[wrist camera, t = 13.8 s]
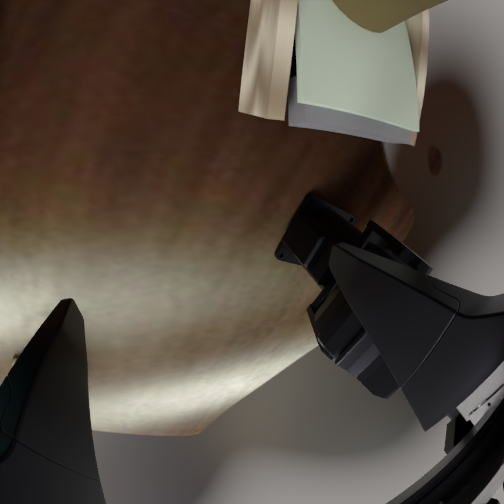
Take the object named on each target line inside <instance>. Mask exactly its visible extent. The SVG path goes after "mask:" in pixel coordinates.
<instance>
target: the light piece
mask: <svg viewBox="0 0 504 504" xmlns="http://www.w3.org/2000/svg"><path fill="white" fill-rule="evenodd" d="M295 43H296V66H297V75H296V76H294V77H292V78H290V79H289V85H288V101H289V126H295V127H303V128H311V129H318V130H325V131H331V132H337V133H343V134H349V135H354V136H359V137H364V138H369V139H374V140H378V141H383V142H387V143H403V144H410V134H409V130H410V131H413V132H419V111H418V98H417V87H416V79H415V71H414V64H413V57H412V52H411V46H410V41H409V36H408V31H407V27H406V22H405V21H403V22H401V23H400V24H398V25H396V26H394V27H392V28H390V29H389V30H387V31H384V32H382V33H376V32H371V31H369V30H366V29H364V28H362V27H360V26H359V25H357V24H356V23H354V22H353V21H351V20H350V19H349V18H348V17H347V16H346V15H345V14H344V13H342V12H341V11H340V10H339V8H338V7H337V6H336V5H335V4H334V2H333V1H332V0H298V6H297V15H296V24H295Z"/></svg>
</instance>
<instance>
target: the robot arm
mask: <svg viewBox="0 0 504 504" xmlns="http://www.w3.org/2000/svg"><path fill="white" fill-rule="evenodd" d="M310 199H312V201H311V202H309V201H310ZM354 221H355V216H353V215H352V214H350V213H349V212H347V211H345V210H343V209H341V208H339V207H337V206H335V205H333V204H330V203H328V202H326V201H324V200H322V199H320V198H318V197H316V196H314V195H311V194H309V195H307V196H306V197H305V199H304V201H303V202H302V204H301V206H300V208H299V210H298V212H297V213H296V215H295V217H294V219H293V221H292V222H291V224H290V226H289V228H288V230H287V231H286V233H285V235H284V237H283V239H282V240H281V242H280V244H279V246H278V248H277V249H276V251H275V257H276V258H277V259H278V260H281V261H285V262H289V263H293V264H297V265H301V266H303V267H304V268H305V270H306V271H307V272H308V273H309V274H310V276H311V277H312V278H313V279H314V281H315V282H316V283H317V284H318V286H319V287H320V288H321V289H322V291H321V292H320V294H319V295H318V296H317V298H316V299H315V300H314V302H313V303H312V304H310V305H309V306H308V308H307V312H308V315H309V318H310V321H311V324H312V327H313V330H314V333H315V336H316V339H317V342H318V344H319V346H320V348H321V350H322V352H323V353H324V354H326V355H327V357H328V358H330V359H331V360H332V361H333V362H335V364H336V365H338V366H340V367H341V368H343V369H345V370H347V371H348V372H349V373H351V374H352V375H353V376H355V377H356V378H357V379H358V380H359V381H360V382H362V384H363V385H364V386H365V387H366V388H367V389H368V390H369V391H370V392H371V393H372V394H373V395H376V396H379V397H382V398H386V399H388V398H390V397H391V396H392V395H393V394H394V393H395V392H396V391H398V390H399V389H401V390H402V391H403V393H404V395H405V397H406V399H407V400H408V402H409V404H410V406H411V408H412V409H413V411H414V413H415V415H416V417H417V418H418V420H419V422H420V424H421V426H422V428H423V429H424V431H427V430H429V429H430V428H431V427H433V426H434V425H435V424H436V423H438V422H439V421H440V420H442V419H443V418H444V417H446V416H448V417H449V418H450V419H451V421H450V422H449V423H448V424H447V431H446V440H445V448H444V451H445V452H446V454H447V455H446V456H445V457H444V458H443V459H442V460H441V461H440V462H439V463H438V464H437V465H436V466H434V467H433V468H432V469H431V470H430V471H429V472H427V473H426V474H425V475H424V476H423V477H422V478H420V479H419V480H418V481H417V482H415V483H414V484H413V485H411V486H410V487H409V488H408V489H406V490H405V491H403V492H402V493H401V494H399V495H398V496H397V497H395V498H394V499H392V500H391V501H389V502H388V503H386V504H500V503H499V501H498V500H497V499H493V498H491V497H492V496H493V495H494V493H495V492H496V491H497V489H498V488H499V487H500V486H501V484H502V483H503V488H504V294H500V295H496V296H483V295H480V294H477V293H474V292H471V291H469V290H466V289H463V288H460V287H458V286H455V285H452V284H449V283H447V282H444V281H441V280H439V279H437V278H434V277H432V276H431V274H432V273H433V271H434V269H433V268H432V267H430V266H429V265H428V264H427V263H426V262H425V261H424V260H422V259H421V258H420V257H419V256H417V255H416V254H415V253H414V252H413V251H412V250H410V249H409V248H408V247H406V246H405V245H404V244H403V243H401V242H400V241H399V240H398V239H396V238H395V237H394V236H392V235H391V234H390V233H388V232H387V231H386V230H384V229H383V228H382V227H380V226H379V225H378V224H376V223H375V222H373V221H372V220H371V219H370V221H369V222H368V224H367V227H366V229H365V230H364V232H363V233H362V232H361V231H360V230H359V229H357V228H356V227H355V226H354V225H353V223H354ZM280 253H282V254H281V255H279V254H280ZM0 504H106V502H105V498H104V494H103V490H102V486H101V482H100V478H99V473H98V468H97V462H96V457H95V451H94V444H93V438H92V429H91V420H90V408H89V393H88V365H87V353H86V343H85V329H84V319H83V316H82V314H81V313H80V311H79V309H78V307H77V305H76V303H75V301H74V300H73V299H72V298H69V299H63V300H61V301H60V302H59V303H58V305H57V306H56V307H55V308H54V310H53V311H52V312H51V313H50V315H49V316H48V317H47V319H46V320H45V321H44V322H43V324H42V325H41V326H40V328H39V329H38V330H37V332H36V333H35V335H34V336H33V337H32V339H31V340H30V341H29V343H28V344H27V346H26V347H25V349H24V350H23V351H22V353H21V354H20V356H19V357H18V359H17V360H16V362H15V363H14V365H13V366H12V368H11V370H10V371H9V373H8V376H6V377H5V379H4V381H3V382H2V384H1V386H0Z"/></svg>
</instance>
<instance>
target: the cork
mask: <svg viewBox="0 0 504 504" xmlns="http://www.w3.org/2000/svg"><path fill="white" fill-rule="evenodd" d="M332 1H333V2H334V4H335V5H336V6H337V7H338V8H339V10H340V11H341V12H342V13H344V14H345V15H346V16H347V17H348V18H349V19H350V20H351V21H353V22H354V23H356V24H357V25H359V26H360V27H362V28H364V29H366V30H369V31H371V32H376V33H382V32H384V31H387V30H389V29H390V28H392V27H394V26H396V25H398V24H400V23H401V22H403V21H405V20H407V19H409V18H411V17H413V16H415V15H417V14H419V13H421V12H423V11H425V10H427V9H429V8H432V7H434V6H436V5H438V4H440V3H442V2H445V1H447V0H332Z"/></svg>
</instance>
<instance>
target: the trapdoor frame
mask: <svg viewBox="0 0 504 504" xmlns="http://www.w3.org/2000/svg"><path fill="white" fill-rule="evenodd" d="M297 6H298V0H251V4H250V12H249V20H248V28H247V36H246V44H245V53H244V62H243V71H242V81H241V90H240V100H239V112H243V113H247V114H251V115H255V116H259V117H262V118H266V119H276V120H284V117H285V109H286V101H287V93H288V85H289V76H290V68H291V59H292V51H293V42H294V33H295V24H296V15H297ZM429 9H430V8H429ZM429 9H427V10H425V11H423V12H421V13H419V14H417V15H415V16H413V17H411V18H409V19H407V20H405V22H406V27H407V31H408V36H409V41H410V46H411V52H412V57H413V64H414V71H415V79H416V87H417V98H418V111H419V121H420V116H421V110H422V103H423V97H424V90H425V82H426V73H427V63H428V49H429V25H430V16H429V15H430V10H429ZM409 134H410V144H409V145H412V146H415V141H416V136H417V132H413V131H410V130H409Z"/></svg>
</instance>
